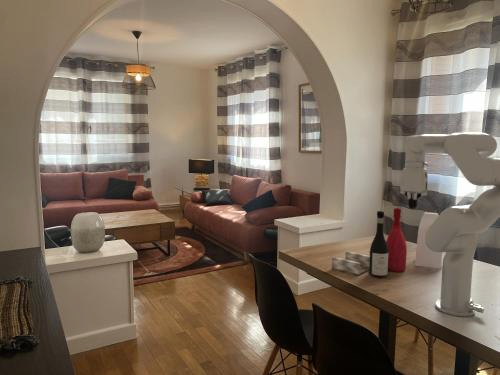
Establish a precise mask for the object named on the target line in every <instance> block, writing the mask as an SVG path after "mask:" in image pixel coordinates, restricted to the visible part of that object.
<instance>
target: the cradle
mask: <svg viewBox="0 0 500 375" xmlns="http://www.w3.org/2000/svg"><path fill="white" fill-rule="evenodd" d="M369 261H370V255H366V254H362V253H357V252H354V251H353V252H352V251H347V250H346V251H345V258H341V257H336V256H332V257H331V270H333V271H336V272H340V273H344V274H347V275H352V276H355V277H360V276H363V274H366V273H368V272H369Z"/></svg>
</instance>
